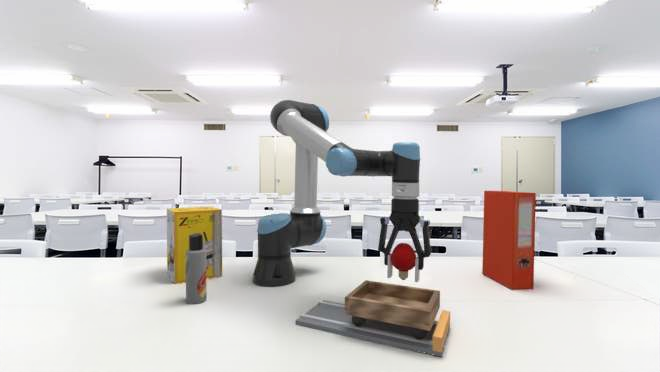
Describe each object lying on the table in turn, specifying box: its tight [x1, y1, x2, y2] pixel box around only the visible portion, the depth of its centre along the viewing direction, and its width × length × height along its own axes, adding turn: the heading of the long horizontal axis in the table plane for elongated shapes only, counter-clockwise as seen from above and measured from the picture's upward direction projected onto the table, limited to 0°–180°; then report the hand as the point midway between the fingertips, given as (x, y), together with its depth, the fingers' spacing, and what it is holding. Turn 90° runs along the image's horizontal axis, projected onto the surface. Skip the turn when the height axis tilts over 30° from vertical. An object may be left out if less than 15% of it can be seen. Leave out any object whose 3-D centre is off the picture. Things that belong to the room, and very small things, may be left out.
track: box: [295, 299, 451, 357], centre depth 82 cm, size 35×15×4 cm, turn 64°
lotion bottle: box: [185, 233, 208, 305], centre depth 99 cm, size 6×6×20 cm
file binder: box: [481, 190, 537, 291], centre depth 118 cm, size 8×17×32 cm, turn 5°
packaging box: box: [166, 206, 223, 285], centre depth 126 cm, size 16×16×25 cm
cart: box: [344, 279, 441, 340], centre depth 80 cm, size 19×14×7 cm
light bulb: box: [391, 242, 417, 281], centre depth 94 cm, size 9×7×10 cm
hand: (403, 278), depth 94 cm, fingers closed on light bulb, 7 cm apart
